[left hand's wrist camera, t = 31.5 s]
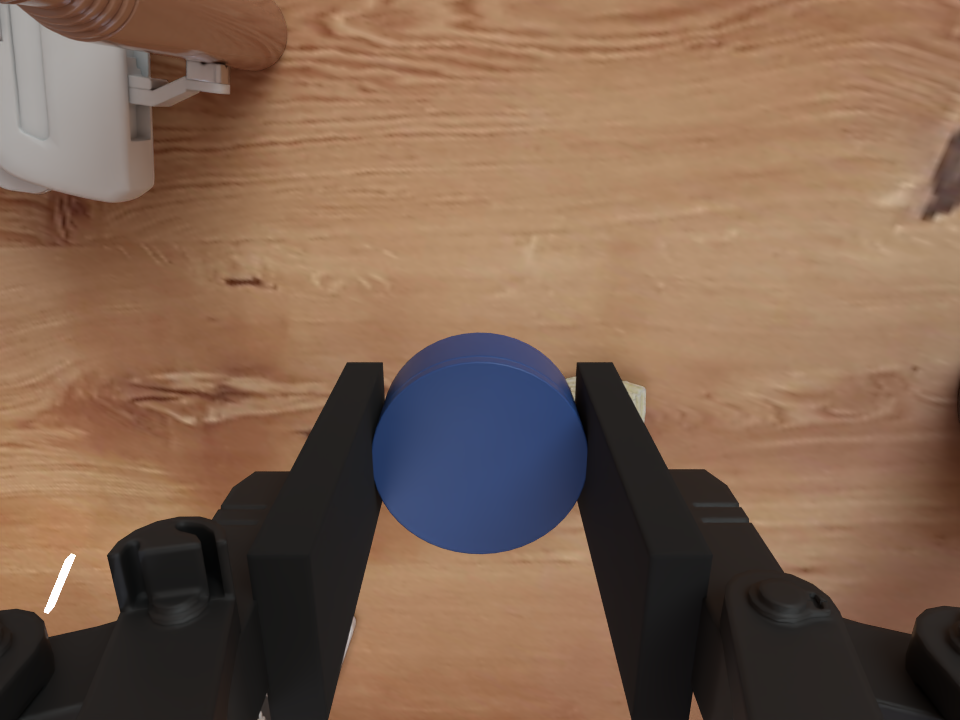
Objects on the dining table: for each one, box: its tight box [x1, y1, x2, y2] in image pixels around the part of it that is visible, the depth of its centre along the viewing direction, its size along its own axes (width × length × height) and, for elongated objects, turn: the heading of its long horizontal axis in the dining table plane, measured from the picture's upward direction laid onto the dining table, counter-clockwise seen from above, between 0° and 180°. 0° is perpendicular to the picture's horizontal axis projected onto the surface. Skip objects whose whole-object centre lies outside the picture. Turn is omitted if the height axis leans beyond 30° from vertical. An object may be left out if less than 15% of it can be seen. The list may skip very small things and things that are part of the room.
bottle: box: [0, 0, 287, 71], centre depth 30 cm, size 4×4×23 cm
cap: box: [372, 333, 588, 554], centre depth 14 cm, size 4×4×2 cm
